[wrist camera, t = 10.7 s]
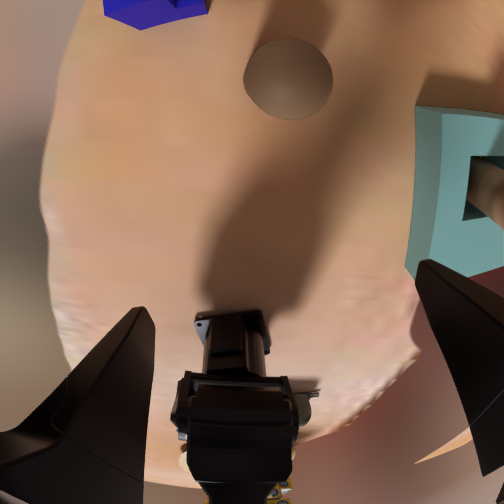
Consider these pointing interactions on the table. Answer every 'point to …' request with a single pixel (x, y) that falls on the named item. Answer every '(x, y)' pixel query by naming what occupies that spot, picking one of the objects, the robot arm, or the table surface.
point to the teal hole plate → (453, 191)
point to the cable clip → (152, 11)
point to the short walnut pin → (288, 79)
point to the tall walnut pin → (486, 189)
